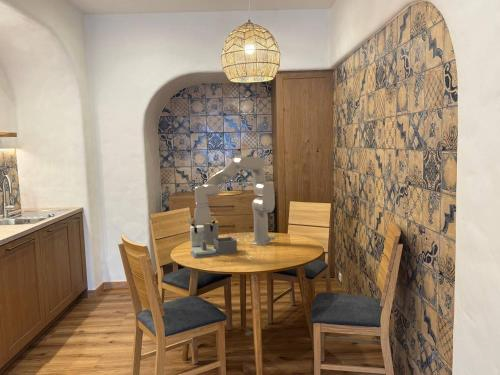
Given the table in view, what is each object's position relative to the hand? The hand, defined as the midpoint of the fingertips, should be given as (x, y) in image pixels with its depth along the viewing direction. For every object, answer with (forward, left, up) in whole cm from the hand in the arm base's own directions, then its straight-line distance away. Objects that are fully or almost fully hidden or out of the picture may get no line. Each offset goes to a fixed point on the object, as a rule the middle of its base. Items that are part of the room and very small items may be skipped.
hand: (203, 232), depth 264 cm
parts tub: (-13, 0, -14) cm, 19 cm away
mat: (+1, 0, -14) cm, 14 cm away
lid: (+1, 0, -12) cm, 12 cm away
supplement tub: (+1, -18, -14) cm, 23 cm away
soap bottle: (-10, -30, -14) cm, 35 cm away
